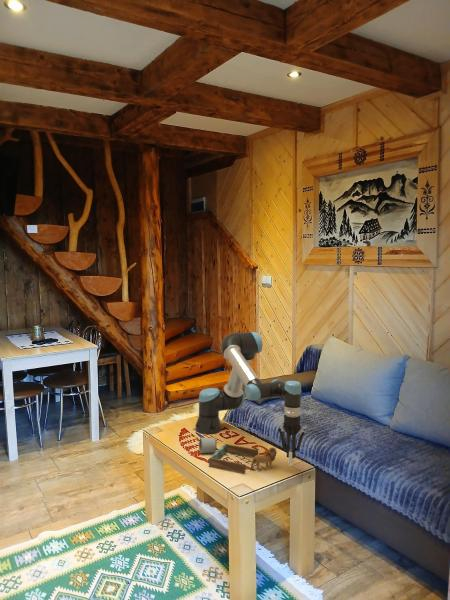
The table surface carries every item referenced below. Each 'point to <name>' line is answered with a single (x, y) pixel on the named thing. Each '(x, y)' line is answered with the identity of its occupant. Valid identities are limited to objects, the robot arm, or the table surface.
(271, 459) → the lion figurine
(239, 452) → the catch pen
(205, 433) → the robot arm
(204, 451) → the ceramic mug
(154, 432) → the table surface
